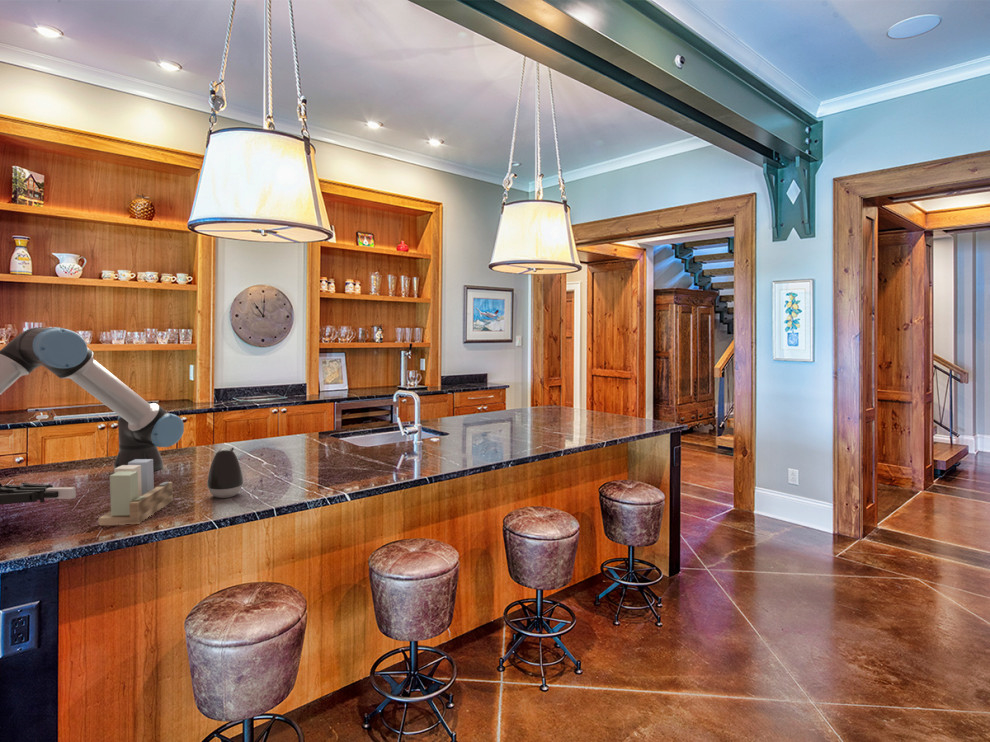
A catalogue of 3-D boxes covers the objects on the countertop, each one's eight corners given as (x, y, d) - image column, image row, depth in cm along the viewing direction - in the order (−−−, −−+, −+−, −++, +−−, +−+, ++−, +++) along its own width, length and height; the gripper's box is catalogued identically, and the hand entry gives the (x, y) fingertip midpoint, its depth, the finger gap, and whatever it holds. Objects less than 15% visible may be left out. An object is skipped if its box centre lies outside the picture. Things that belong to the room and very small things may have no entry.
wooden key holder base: (138, 501, 166) (137, 480, 165) (172, 501, 167) (172, 480, 166) (98, 525, 146) (97, 502, 145) (138, 524, 147) (137, 501, 146)
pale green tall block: (119, 510, 151) (118, 471, 150) (138, 510, 151) (137, 471, 151) (111, 515, 147) (109, 475, 146) (130, 515, 148) (129, 475, 147)
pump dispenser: (249, 490, 179) (248, 445, 177) (234, 500, 168) (234, 452, 167) (217, 490, 178) (216, 444, 177) (201, 500, 168) (200, 451, 167)
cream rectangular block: (123, 502, 158) (122, 465, 157) (142, 502, 158) (140, 465, 157) (115, 507, 154) (114, 468, 153) (134, 506, 154) (133, 468, 153)
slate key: (136, 495, 164) (135, 459, 164) (154, 494, 165) (153, 459, 164) (129, 499, 160) (127, 462, 160) (147, 499, 161) (146, 462, 160)
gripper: (-4, 500, 151) (89, 498, 154) (-44, 516, 138) (58, 514, 141) (-5, 473, 151) (88, 472, 154) (-45, 487, 138) (57, 486, 141)
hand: (73, 492), depth 147 cm, fingers closed
